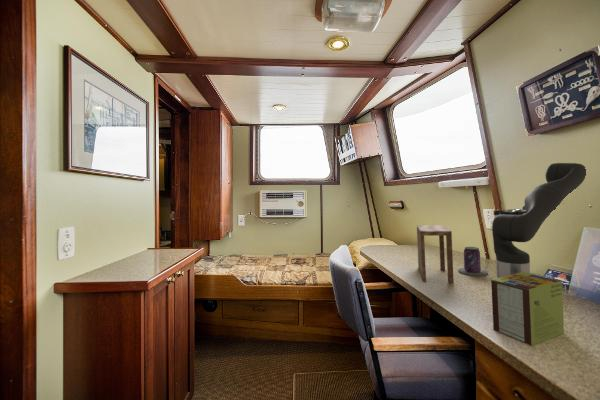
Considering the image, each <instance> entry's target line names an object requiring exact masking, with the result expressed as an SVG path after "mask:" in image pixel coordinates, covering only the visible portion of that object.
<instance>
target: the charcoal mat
mask: <svg viewBox="0 0 600 400" xmlns="http://www.w3.org/2000/svg"><path fill="white" fill-rule="evenodd" d="M457 272H458V273H459V274H461V275H465V276H472V277H485V276H487V275H489V272H488V271H486V270H485V269H482V268H481V271H479V272H468V271H466V270H465V269H464V267H462V268H459V269H457Z"/></svg>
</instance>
